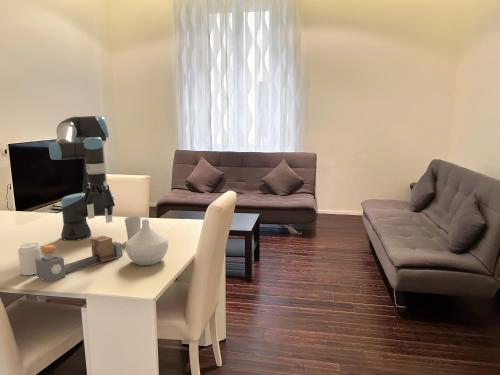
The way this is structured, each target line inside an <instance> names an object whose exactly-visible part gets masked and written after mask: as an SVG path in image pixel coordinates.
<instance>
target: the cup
mask: <svg viewBox="0 0 500 375" xmlns="http://www.w3.org/2000/svg"><path fill="white" fill-rule="evenodd" d="M141 220H142V219H141V216H128V217H125V218H124V223H125V228H126V234H127V235H126V237H127V241H128V240H129V239H130V238H132V237H133V236H134V235H135V234H136V233H137V232H138V231H139V230H140V229H141Z"/></svg>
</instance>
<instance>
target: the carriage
mask: <svg viewBox="0 0 500 375" xmlns="http://www.w3.org/2000/svg"><path fill="white" fill-rule="evenodd" d="M112 243H113V238H112V237H109V236H106V235H99V236H96V237H93V238H90V244H91V256H95V255H98V256H99V262H100V263H101V264H104V263H106V262H109V261H113V260H114V259H115V258H114V255H113V244H112Z"/></svg>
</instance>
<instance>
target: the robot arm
mask: <svg viewBox="0 0 500 375" xmlns="http://www.w3.org/2000/svg"><path fill="white" fill-rule="evenodd" d="M55 133H56V140H55V142H50V143H49V144H48V151H49V157H50V159H51V160H53V161H54V160H59V161H61V160H73V159H74V160H76V159H85V169H86V173H87V174H86V181H87V182H86V183H85V190H84V193H82V192H80V193H79V192H78V193H73V194H69V195H66V196H63V198H61V201H60V202H61V203H60V204H61V206H60V207H61V210H62V212H61V213H62V221H63V222H62V223H63V225H62V229H61V230H62V231H61V234H60V238H62V239H65V240H74V241H79V240H78V239H81V240H85V239H88V238H90V237H91V236H92V230H91V229H90V226H89V224H88V221H87V219H88V220H91V219H95V218H96V217H101V216H103V217H104V216H105V223H106V224H109V223H112V222H113V212H114V207H115V206H116V205H115V201H114V200H115V199H114V197H115V195H114V193H112V191H111V189H110V186H109V184H108V178H107V168H106V167H107V166H106V157H105V143H106V142H107V139H108V138H109V137H110V135H109V131H108V126H107V122H106V118H105V117H104V116H101V115H90V116H89V115H87V116H83V115H82V116H70V117H68V118H66V119H64V120H62V121H60V123H59V124H57V127H56V130H55ZM76 139H79V140H81V139H82V140H83V141H75V140H76ZM87 237H88V238H87ZM84 238H85V239H84ZM62 239H61V240H62ZM65 240H64V241H65Z"/></svg>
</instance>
